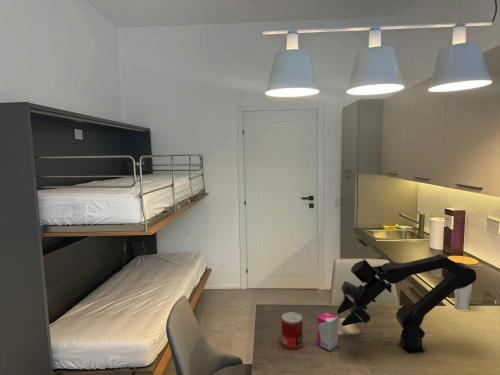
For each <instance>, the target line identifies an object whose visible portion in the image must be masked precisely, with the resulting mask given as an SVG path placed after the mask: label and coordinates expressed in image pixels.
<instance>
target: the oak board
mask: <svg viewBox="0 0 500 375" xmlns="http://www.w3.org/2000/svg"><path fill="white" fill-rule="evenodd" d="M345 318H346V317H342V318H340V317H339V318H338V337H339V336H347V335H348V336H349V335H362V331H361V330H360V329H359V328H358V327H357V325H356V323H355V324H350V325H346V326H342V325H341V323H342V322H343V320H344V319H345Z"/></svg>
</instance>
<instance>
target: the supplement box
mask: <svg viewBox="0 0 500 375" xmlns="http://www.w3.org/2000/svg"><path fill="white" fill-rule="evenodd" d="M338 319H339V316H337V315H334V314H332V313H329V312H324V313H322V314H321V315H319V316H317V318H316V321H317V325H316V328H317V330H316V332H317V336H316V337H317V338H316V339H317V341H316V342H317V347H319V348H321V349H324V350H326V351H328V352H332V351H333V350H334V349H336V348H337V347H338V346H339V336H338Z"/></svg>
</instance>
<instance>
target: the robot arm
mask: <svg viewBox="0 0 500 375" xmlns="http://www.w3.org/2000/svg"><path fill="white" fill-rule="evenodd" d="M440 269H441V270H442V269H445V270H447V271H446V274H445V276H444V278H443V279H442V280H441V281H440V282H439V283H437V284H436V285H435V286H434V287H433V288H432V289H430V290H429V291H428V292H427V293H426V294H424V296H422V297H421V298H420V299H419V300H418V301H416V302H415V303H413V304H410V305H409V304H408V302H405V303H403V305H402V306H401V307H400V308H399V307H398V308H397V311H396V313H395V319H396V321H397V322H398V323H399V326H401V328H402V329H401V334H400V336H399V337H400V341H398V344H399V345H400V346H401V348H403V350H405V351H406V353H408V354H412V353H413V354H415V353H422V352H425V349H424V348H423V339H424V337H425V335H426V332H425V331H424V330H423V328H422V327H421V326H422V323H423V321H424V319H425V316H426V315H427V314H429V312H431V311H432V310H433V309H435V308H436V307H437V306H439V305H440V303H442V302H443V301H444V300H445V299H446V298H448V297H449V296H450V295H452V294H453V293H454V291H455V290H456V289H460V288H464V287H467V286H468V285H470V284H472V285H473V283H474V282H475V281H477V272H476V271H475V270H474V269H473V268H471V267H470V266H468V265H467V264H465V263H463V262H455V261H453V260H452V259H451V258H449V257H447V256H446V255H444V254H441V253H439V254H436V255H433V256H429V257H425V258H421V259H416V260H412V261H408V262H385V263H383V264H382V265H378V266H377V265H376V266H372V265H371V264H370V263H369V261H367V259H365V258H364V259H362V260H360V261H358V262H355V263H354V265H352V267H351V269H350V272H351V273H352V274H353V275H354V276H355V278H357V279H358V280H359V281H360V282H361V283H363V284H364V285H362V284H359V285H358V286H357V285H355V284H352V283H351V282H348V281H346V280H344V281H343V284H342V286H341V287H340V290H341V291H342V293H343V294H342V295H343V300H342V301H341V303H340V305H339V307H338V308H337V311H336V313H337V314H339V315H340V314H342V313H344V312H346V311H348V310H350V311H349V313H348V315H347V316H346V317H344V318H345V319H344V320H343V322H342V323H341V325H342V326H346V325H350V324H355V325H356V324H359V323H360V324H361V323H362V324H364V323H365V324H367V323H369V322H370V321H371V315H370V314H369V311H367V309H368V306H369V304H371V302H373V303H376V302H377V300H376V299H377V297H379V296H380V295H381V294H382V293H383V292H384V291H385V290H387V291H388V292H389V293H392V285H393V284H397V283H400V282H402V281H403V282H404V280H406V279H408V278H409V277H412V276H415V275H417V274H423V273H427V272H428V273H429V272H431V271H436V270H440Z"/></svg>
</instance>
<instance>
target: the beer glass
mask: <svg viewBox="0 0 500 375" xmlns="http://www.w3.org/2000/svg"><path fill="white" fill-rule="evenodd" d="M472 291H473V283H472V284H470V285H468V286H467V287H464V288H460V289H456V290H455V291H453V293H454V296H455V300H454V301H455V302H454V306H453V308H454V309H455V308H456V309H458V310H457V311H459V310H465V311H466V310H471V309H470V299H471V295H472ZM456 309H455V310H456Z"/></svg>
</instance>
